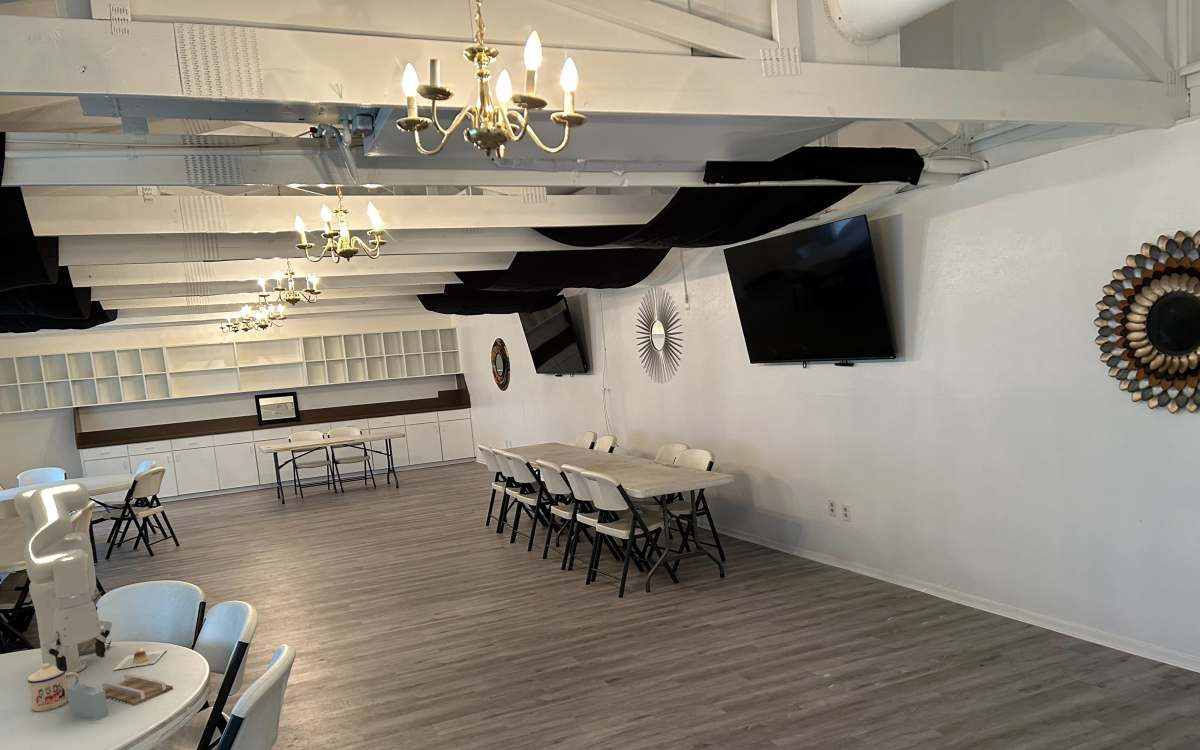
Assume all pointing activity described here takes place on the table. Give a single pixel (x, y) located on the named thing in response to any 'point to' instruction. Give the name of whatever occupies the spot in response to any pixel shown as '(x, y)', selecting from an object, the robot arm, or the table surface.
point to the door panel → (87, 701)
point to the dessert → (139, 658)
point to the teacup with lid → (49, 687)
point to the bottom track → (135, 689)
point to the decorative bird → (89, 645)
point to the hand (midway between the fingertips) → (82, 663)
